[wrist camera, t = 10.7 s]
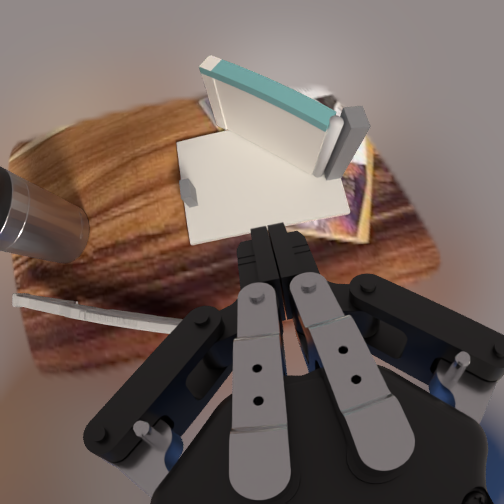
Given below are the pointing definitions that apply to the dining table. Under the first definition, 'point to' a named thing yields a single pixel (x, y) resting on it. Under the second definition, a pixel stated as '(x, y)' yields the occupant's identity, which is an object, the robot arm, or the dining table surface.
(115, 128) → the dining table surface
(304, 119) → the gate panel
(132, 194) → the dining table surface
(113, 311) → the grey flat strip
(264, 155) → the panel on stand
